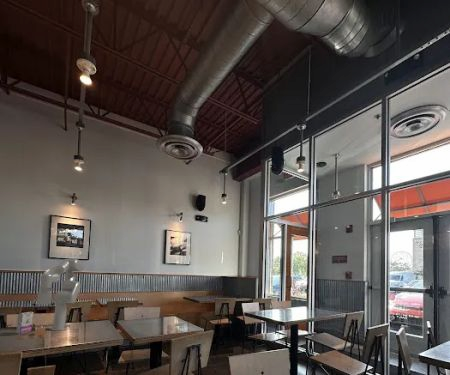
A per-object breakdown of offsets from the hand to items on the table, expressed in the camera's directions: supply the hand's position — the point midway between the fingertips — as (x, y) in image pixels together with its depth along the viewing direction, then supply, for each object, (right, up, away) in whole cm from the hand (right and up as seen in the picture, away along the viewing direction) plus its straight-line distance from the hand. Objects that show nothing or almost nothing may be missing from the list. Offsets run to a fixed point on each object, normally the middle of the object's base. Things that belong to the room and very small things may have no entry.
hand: (42, 311), depth 281 cm
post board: (-3, -17, -10) cm, 20 cm away
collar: (0, -16, -4) cm, 17 cm away
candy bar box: (-17, -19, +3) cm, 26 cm away
